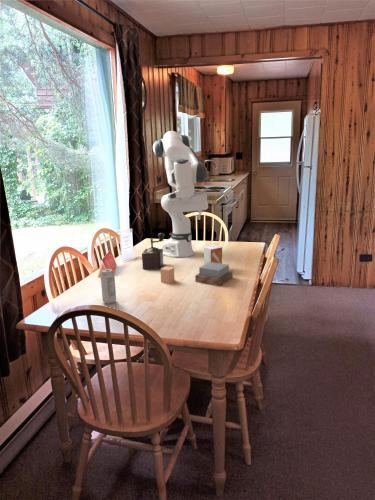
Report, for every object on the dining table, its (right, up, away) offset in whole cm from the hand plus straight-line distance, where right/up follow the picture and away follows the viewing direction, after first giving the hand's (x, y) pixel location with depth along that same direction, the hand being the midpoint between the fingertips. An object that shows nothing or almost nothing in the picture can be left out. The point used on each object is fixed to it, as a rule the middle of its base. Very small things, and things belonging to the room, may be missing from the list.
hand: (189, 220), depth 203 cm
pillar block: (-11, -31, +4) cm, 33 cm away
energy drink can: (-36, -39, -20) cm, 57 cm away
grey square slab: (+13, -27, +4) cm, 30 cm away
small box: (+13, -26, +20) cm, 36 cm away
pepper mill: (-20, -24, +31) cm, 44 cm away
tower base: (+13, -31, +5) cm, 34 cm away
